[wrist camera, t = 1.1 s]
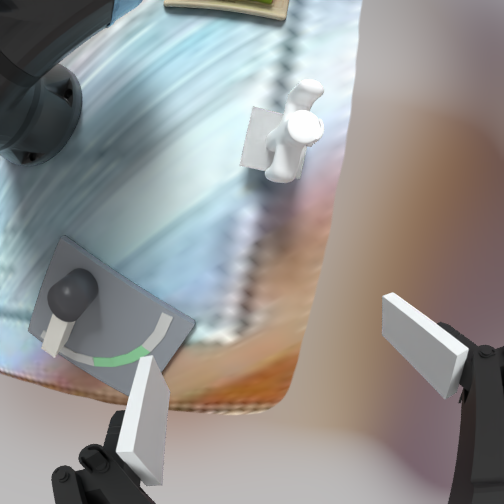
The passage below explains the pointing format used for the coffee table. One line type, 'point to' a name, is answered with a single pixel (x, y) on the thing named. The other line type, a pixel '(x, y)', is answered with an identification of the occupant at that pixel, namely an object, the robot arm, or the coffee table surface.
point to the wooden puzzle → (238, 6)
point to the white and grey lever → (68, 307)
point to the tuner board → (111, 321)
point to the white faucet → (284, 134)
